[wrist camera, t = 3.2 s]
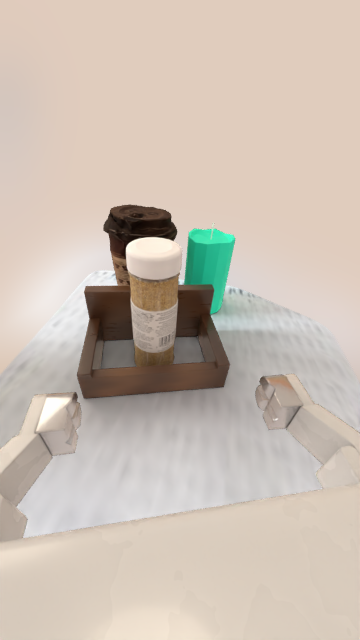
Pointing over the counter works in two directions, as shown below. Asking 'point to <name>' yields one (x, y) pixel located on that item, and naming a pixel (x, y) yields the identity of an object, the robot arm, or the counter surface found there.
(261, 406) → the robot arm
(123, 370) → the spice rack
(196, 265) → the candle
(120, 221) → the coffee cup
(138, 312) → the sprinkles bottle
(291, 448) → the counter surface
